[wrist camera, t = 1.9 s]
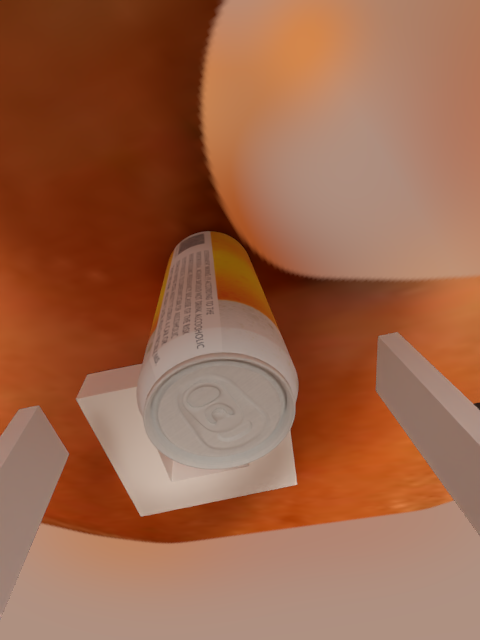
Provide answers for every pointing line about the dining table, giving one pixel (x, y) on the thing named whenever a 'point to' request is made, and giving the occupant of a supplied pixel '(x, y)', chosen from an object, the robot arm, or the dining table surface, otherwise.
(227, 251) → the beer can
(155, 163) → the dining table surface
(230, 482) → the socket plate
